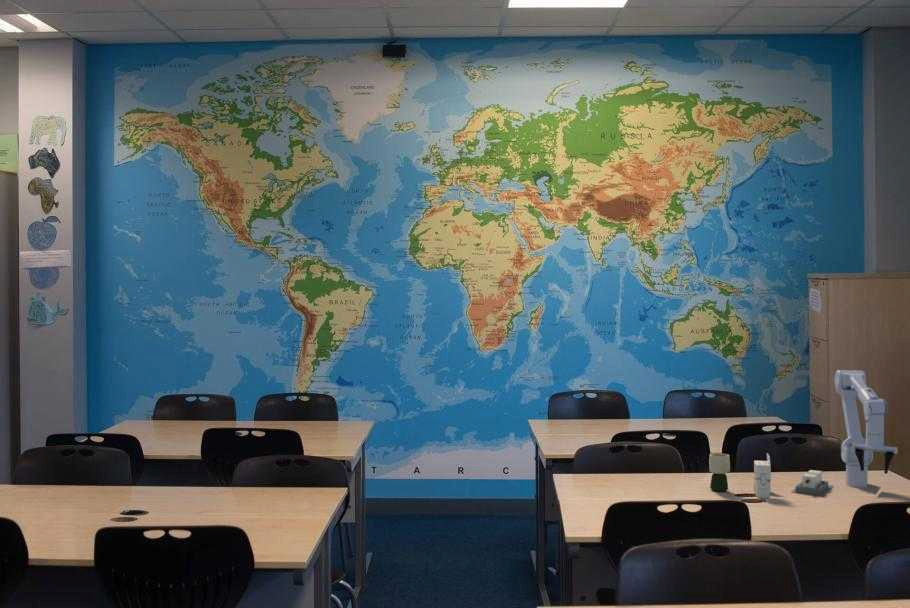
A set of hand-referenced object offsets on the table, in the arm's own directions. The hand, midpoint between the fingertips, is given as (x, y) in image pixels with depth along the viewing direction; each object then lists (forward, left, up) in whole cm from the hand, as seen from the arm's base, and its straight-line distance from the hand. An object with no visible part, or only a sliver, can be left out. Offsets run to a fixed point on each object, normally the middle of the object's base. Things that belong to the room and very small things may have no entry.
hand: (874, 471), depth 319 cm
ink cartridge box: (+18, -34, -10) cm, 40 cm away
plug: (+8, -20, -8) cm, 23 cm away
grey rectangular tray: (+2, -20, -9) cm, 22 cm away
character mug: (+19, -49, -10) cm, 53 cm away
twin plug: (-2, -20, -8) cm, 22 cm away
